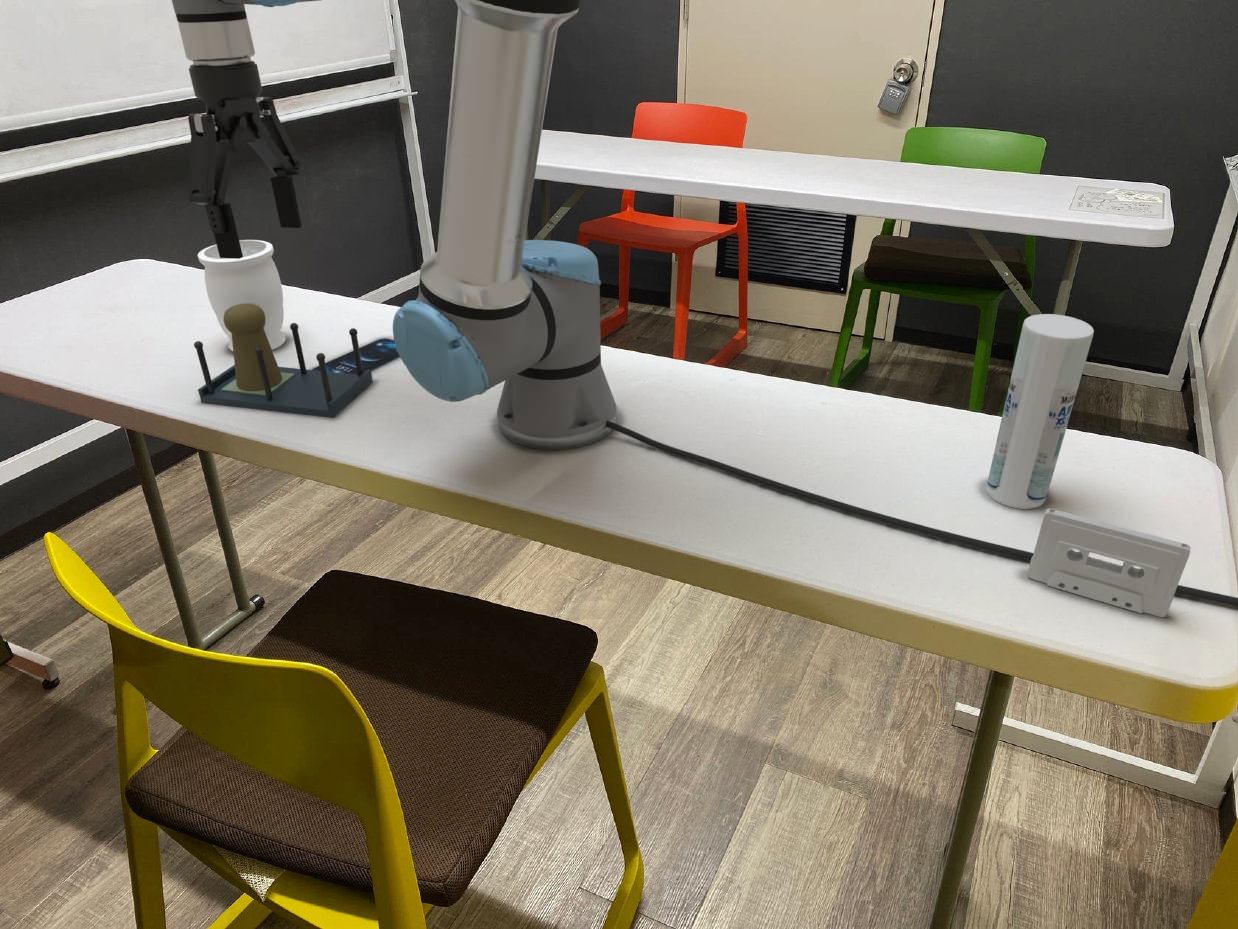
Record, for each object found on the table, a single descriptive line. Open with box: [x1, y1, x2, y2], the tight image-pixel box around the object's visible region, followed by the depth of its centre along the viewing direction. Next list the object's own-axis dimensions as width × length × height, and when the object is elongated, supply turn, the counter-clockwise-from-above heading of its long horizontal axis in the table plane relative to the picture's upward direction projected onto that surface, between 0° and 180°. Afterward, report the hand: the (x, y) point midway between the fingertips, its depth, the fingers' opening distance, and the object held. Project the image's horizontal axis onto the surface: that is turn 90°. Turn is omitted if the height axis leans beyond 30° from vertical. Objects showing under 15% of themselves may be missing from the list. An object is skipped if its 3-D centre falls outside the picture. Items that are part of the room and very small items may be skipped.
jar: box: [197, 239, 287, 352], centre depth 135 cm, size 11×10×15 cm
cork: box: [224, 303, 282, 391], centre depth 122 cm, size 6×6×11 cm
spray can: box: [986, 313, 1095, 510], centre depth 95 cm, size 6×6×20 cm
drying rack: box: [193, 322, 374, 419], centre depth 122 cm, size 20×11×9 cm, turn 76°
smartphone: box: [311, 337, 401, 375], centre depth 134 cm, size 8×1×15 cm
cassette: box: [1027, 508, 1191, 618], centre depth 83 cm, size 12×2×8 cm, turn 59°
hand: (263, 241), depth 115 cm, fingers open, 13 cm apart
